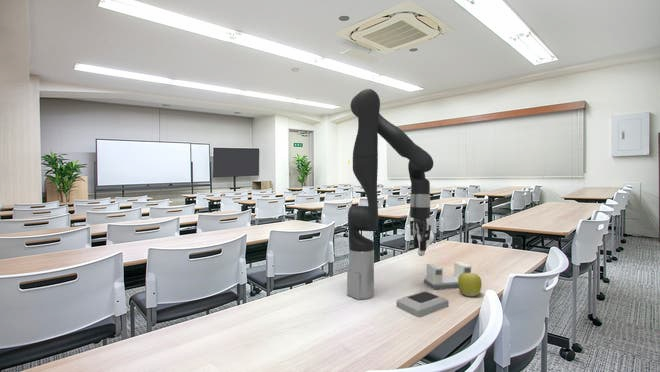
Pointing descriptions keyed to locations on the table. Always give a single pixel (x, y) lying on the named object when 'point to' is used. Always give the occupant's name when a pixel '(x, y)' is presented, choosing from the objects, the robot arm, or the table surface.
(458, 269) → the block
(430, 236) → the lightbulb
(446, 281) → the rail board
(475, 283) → the apple
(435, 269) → the block
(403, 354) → the table surface
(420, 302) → the grey flat block
